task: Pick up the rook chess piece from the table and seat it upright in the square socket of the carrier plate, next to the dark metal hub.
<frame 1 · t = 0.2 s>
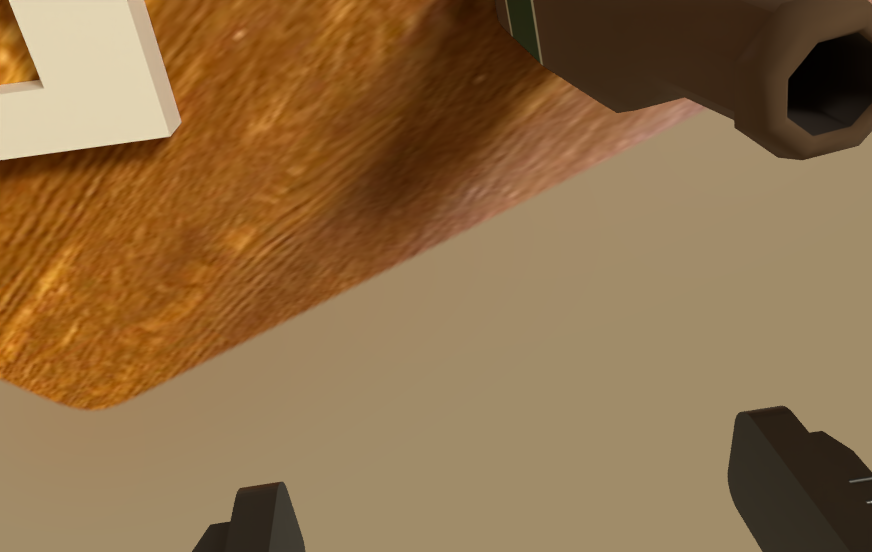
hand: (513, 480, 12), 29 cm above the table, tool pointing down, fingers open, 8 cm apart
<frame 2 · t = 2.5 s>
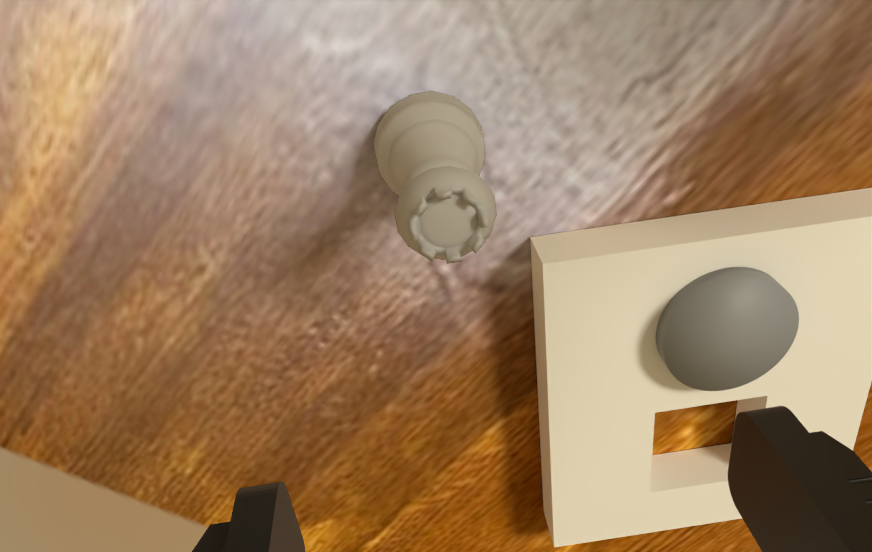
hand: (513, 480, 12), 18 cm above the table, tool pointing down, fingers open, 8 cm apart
carrier plate: (690, 369, 35), on the table
rook chess piece: (427, 141, 28), on the table
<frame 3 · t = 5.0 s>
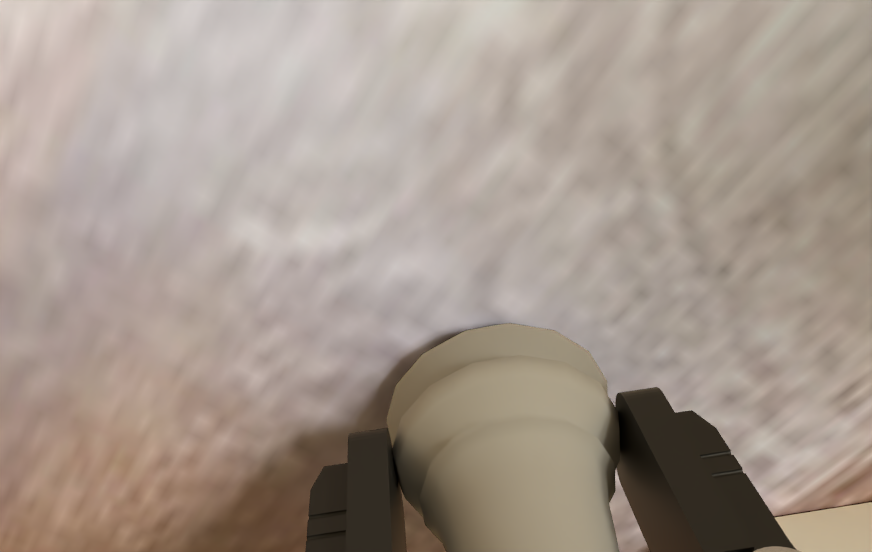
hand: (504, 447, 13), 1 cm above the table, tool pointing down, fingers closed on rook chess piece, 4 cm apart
rook chess piece: (493, 395, 14), on the table, touching gripper
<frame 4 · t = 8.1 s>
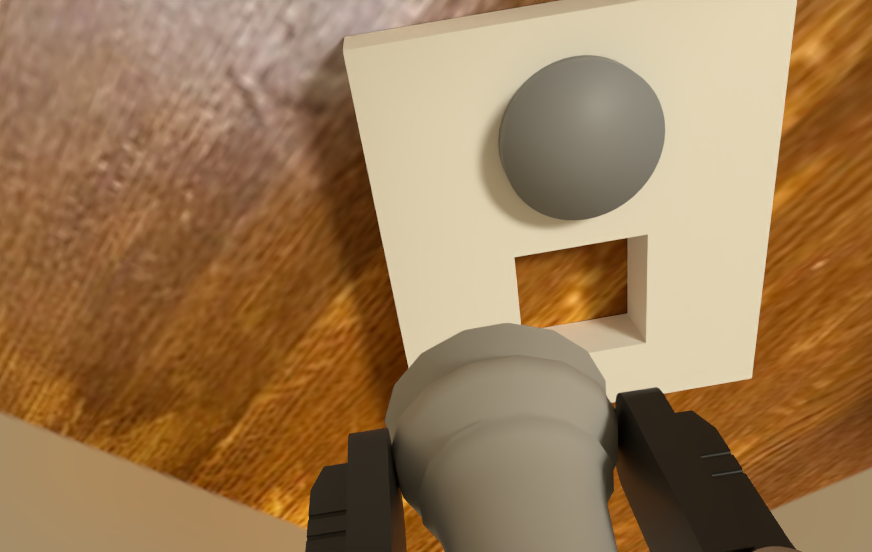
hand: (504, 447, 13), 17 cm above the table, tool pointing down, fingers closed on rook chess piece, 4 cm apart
carrier plate: (565, 216, 30), on the table
rook chess piece: (491, 394, 14), point 16 cm above the table, touching gripper
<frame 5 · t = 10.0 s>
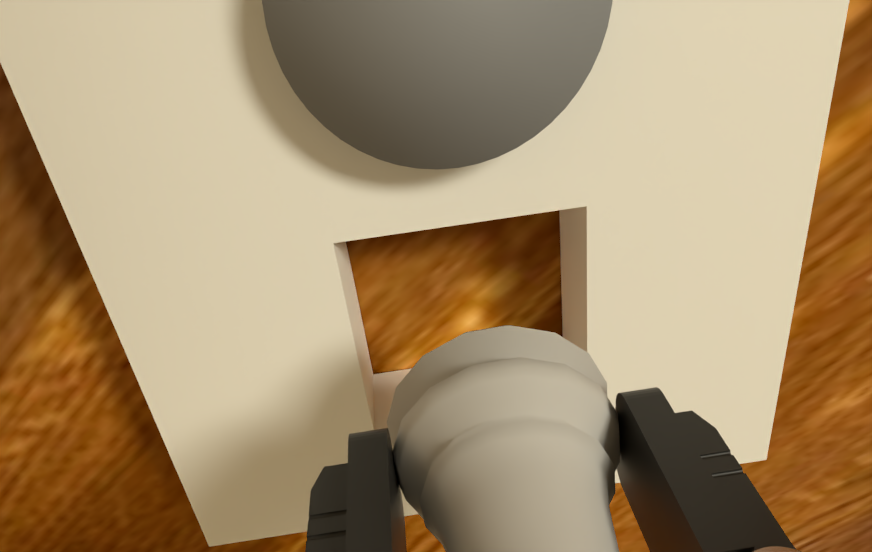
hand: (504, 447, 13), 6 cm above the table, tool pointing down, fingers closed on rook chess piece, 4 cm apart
carrier plate: (447, 174, 17), on the table
rook chess piece: (493, 396, 14), point 5 cm above the table, touching gripper
when the fingers open (4 cm above the table, at t = 11.4 s): rook chess piece drops 2 cm, resting in carrier plate.
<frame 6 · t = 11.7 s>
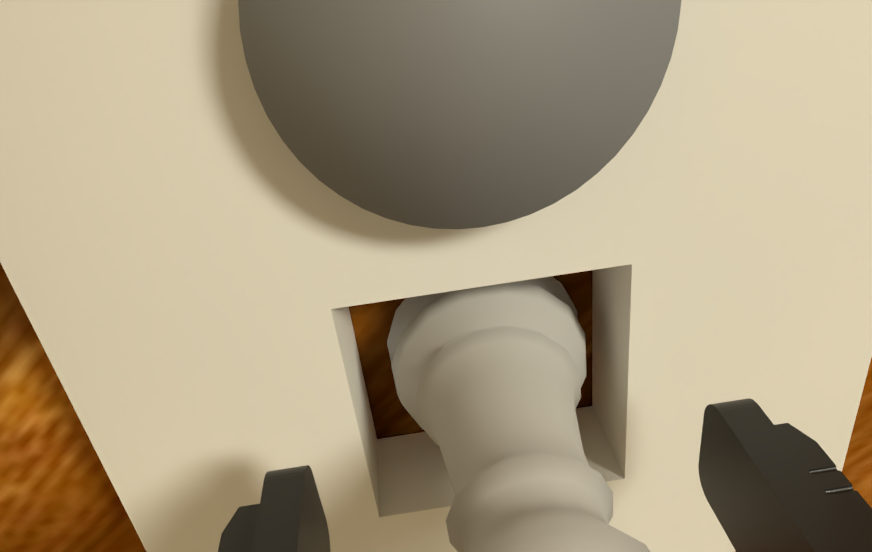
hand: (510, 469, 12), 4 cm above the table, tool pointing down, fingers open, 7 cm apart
carrier plate: (463, 219, 14), on the table
rook chess piece: (479, 325, 16), resting in carrier plate
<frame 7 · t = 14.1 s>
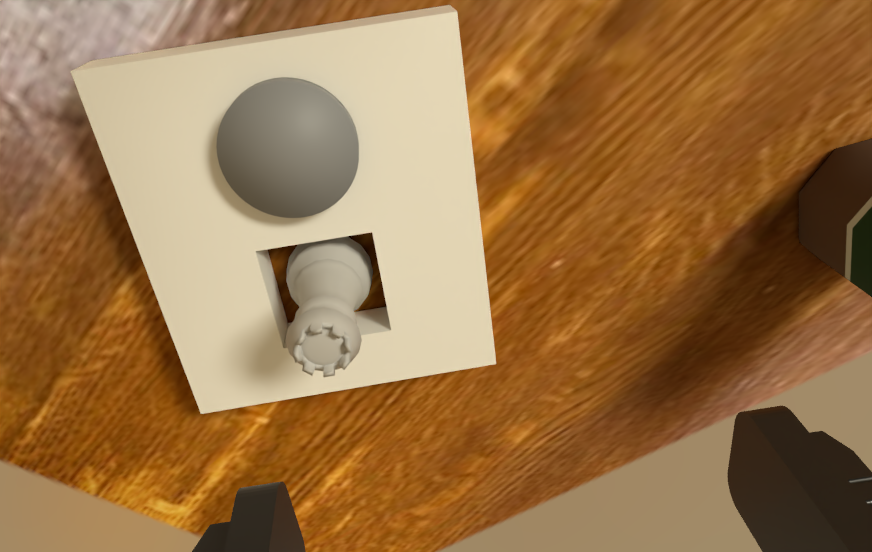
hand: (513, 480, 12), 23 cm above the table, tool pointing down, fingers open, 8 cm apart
carrier plate: (315, 217, 34), on the table
beer bottle: (855, 197, 37), on the table
rook chess piece: (330, 266, 36), resting in carrier plate
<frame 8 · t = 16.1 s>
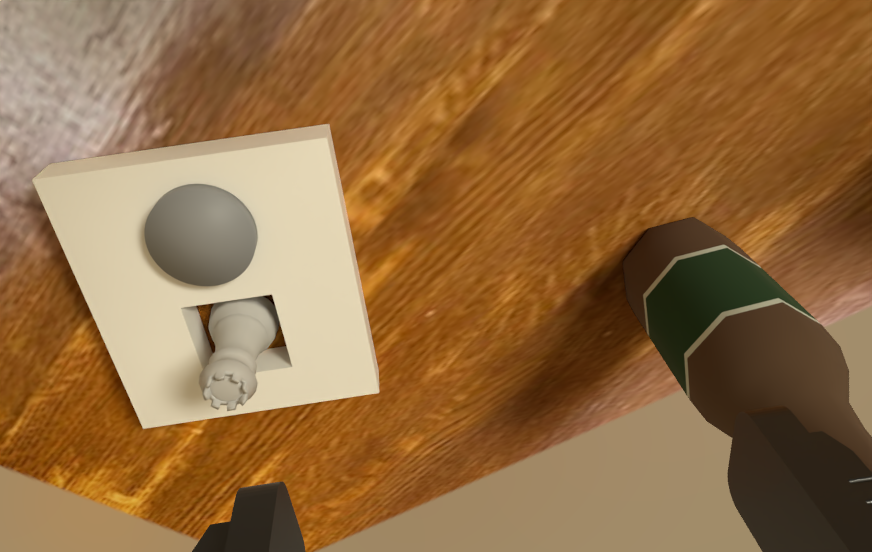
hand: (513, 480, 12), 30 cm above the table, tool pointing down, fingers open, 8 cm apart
carrier plate: (232, 278, 43), on the table
beer bottle: (671, 264, 46), on the table
rook chess piece: (246, 313, 45), resting in carrier plate
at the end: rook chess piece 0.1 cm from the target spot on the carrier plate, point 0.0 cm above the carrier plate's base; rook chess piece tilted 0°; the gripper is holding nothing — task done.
